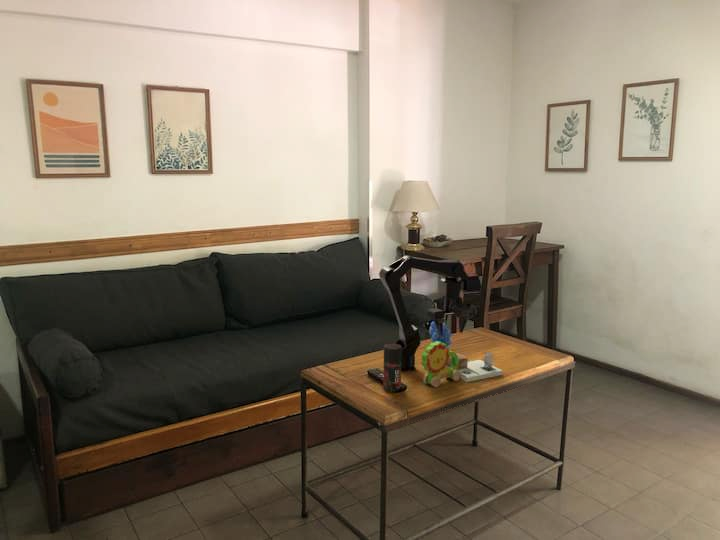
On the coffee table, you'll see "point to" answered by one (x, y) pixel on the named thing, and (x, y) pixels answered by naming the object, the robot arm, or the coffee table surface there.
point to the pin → (488, 361)
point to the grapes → (437, 337)
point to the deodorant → (392, 367)
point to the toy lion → (439, 364)
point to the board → (477, 371)
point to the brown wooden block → (459, 361)
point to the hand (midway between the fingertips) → (450, 333)
